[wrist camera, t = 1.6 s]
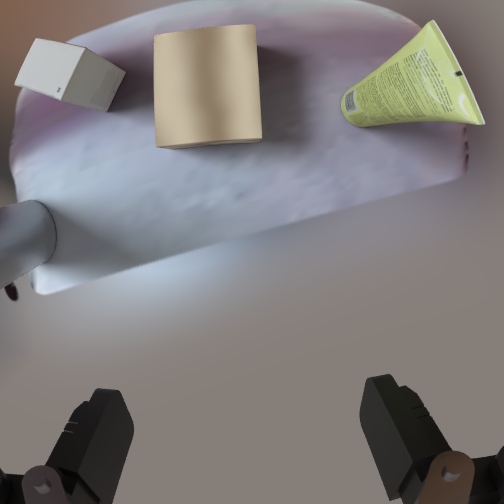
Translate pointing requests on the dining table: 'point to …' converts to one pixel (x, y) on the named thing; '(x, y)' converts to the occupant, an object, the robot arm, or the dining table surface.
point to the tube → (414, 87)
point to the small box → (70, 74)
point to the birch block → (206, 87)
